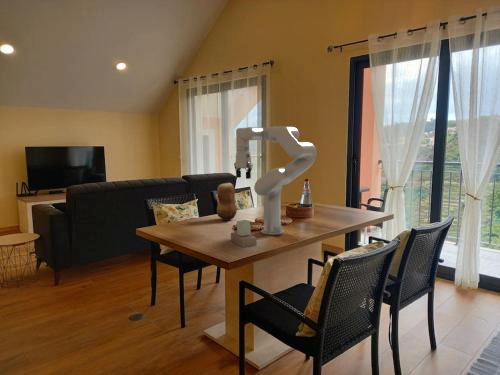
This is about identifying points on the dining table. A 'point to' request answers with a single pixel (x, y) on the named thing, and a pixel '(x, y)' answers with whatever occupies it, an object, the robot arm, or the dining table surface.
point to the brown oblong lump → (226, 201)
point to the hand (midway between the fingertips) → (243, 178)
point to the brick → (243, 240)
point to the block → (243, 227)
